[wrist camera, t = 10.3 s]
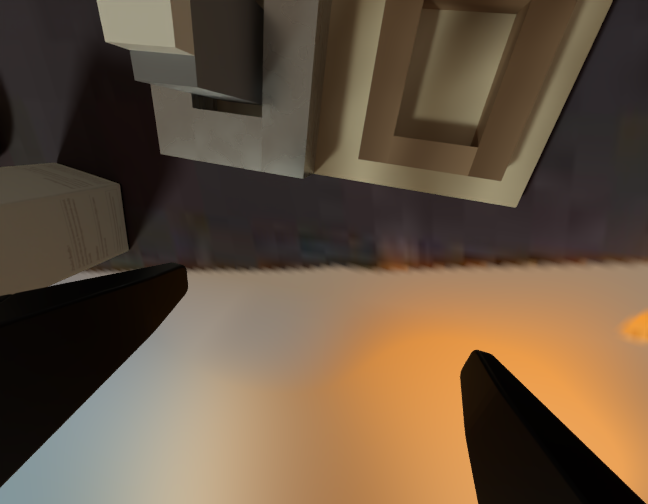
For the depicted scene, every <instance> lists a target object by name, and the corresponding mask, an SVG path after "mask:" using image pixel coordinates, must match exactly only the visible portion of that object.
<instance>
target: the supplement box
mask: <svg viewBox="0 0 648 504" xmlns="http://www.w3.org/2000/svg"><path fill="white" fill-rule="evenodd" d="M127 251H129V247H128V241H127V234H126V227H125V219H124V212H123V204H122V197H121V189H120V184H118V183H116V182H112V181H110V180H107V179H104V178H101V177H98V176H95V175H92V174H89V173H86V172H83V171H80V170H77V169H74V168H70V167H67V166H64V165H61V164H58V163H44V164H33V165H21V166H9V167H0V296H2V295H8V294H12V295H13V294H15V293H18V292H23V291H28V290H34V289H39V288H44V287H48V286H50V285H52V284H55V283H57V282H59V281H61V280H63V279H66V278H68V277H70V276H73V275H75V274H77V273H79V272H82V271H84V270H86V269H89V268H91V267H93V266H95V265H98V264H100V263H102V262H104V261H106V260H109V259H111V258H113V257H115V256H118V255H120V254H122V253H124V252H127Z"/></svg>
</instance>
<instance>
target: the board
mask: <svg viewBox="0 0 648 504" xmlns="http://www.w3.org/2000/svg"><path fill="white" fill-rule="evenodd" d="M255 1H256V2H257V3H258V4H259V5H260V6H261V7H262V8H263V9H264V0H255ZM385 1H386V0H332V5H331V15H330V24H329V34H328V44H327V53H326V63H325V72H324V82H323V92H322V101H321V111H320V120H319V130H318V139H317V149H316V159H315V168H314V174H319V175H325V176H331V177H337V178H343V179H349V180H355V181H361V182H367V183H373V184H379V185H385V186H391V187H396V188H402V189H408V190H414V191H420V192H426V193H432V194H438V195H444V196H450V197H456V198H462V199H468V200H474V201H480V202H486V203H492V204H497V205H503V206H509V207H515V208H516V207H517V204H518V202H519V200H520V198H521V196H522V194H523V192H524V189H525V187H526V185H527V183H528V181H529V179H530V177H531V174H532V172H533V170H534V168H535V166H536V164H537V162H538V159H539V157H540V155H541V153H542V151H543V149H544V147H545V145H546V142H547V140H548V138H549V136H550V134H551V132H552V130H553V127H554V125H555V123H556V121H557V119H558V117H559V115H560V112H561V110H562V108H563V106H564V104H565V102H566V100H567V97H568V95H569V93H570V91H571V89H572V87H573V85H574V82H575V80H576V78H577V76H578V74H579V72H580V70H581V68H582V65H583V63H584V61H585V59H586V57H587V55H588V53H589V50H590V48H591V46H592V44H593V42H594V40H595V38H596V35H597V33H598V31H599V29H600V27H601V25H602V23H603V20H604V18H605V16H606V14H607V12H608V10H609V8H610V6H611V3H612V1H613V0H577V3H576V5H575V8H574V10H573V12H572V15H571V17H570V19H569V22H568V24H567V26H566V29H565V31H564V34H563V36H562V38H561V41H560V43H559V45H558V48H557V50H556V53H555V55H554V57H553V60H552V62H551V64H550V67H549V69H548V72H547V74H546V76H545V79H544V81H543V83H542V86H541V88H540V90H539V93H538V95H537V98H536V100H535V102H534V105H533V107H532V109H531V112H530V114H529V117H528V119H527V121H526V124H525V126H524V128H523V131H522V133H521V136H520V138H519V140H518V143H517V145H516V147H515V150H514V152H513V154H512V157H511V159H510V162H509V164H508V166H507V169H506V171H505V173H504V176H503V178H502V181H496V180H490V179H483V178H477V177H470V176H464V175H457V174H451V173H444V172H438V171H431V170H425V169H419V168H412V167H406V166H399V165H393V164H386V163H380V162H373V161H367V160H360V159H358V157H359V151H360V145H361V139H362V134H363V128H364V122H365V116H366V110H367V105H368V99H369V93H370V87H371V82H372V76H373V70H374V64H375V59H376V53H377V47H378V41H379V36H380V30H381V24H382V18H383V13H384V7H385ZM515 17H516V14H504V13H487V12H470V11H454V10H437V9H422V11H421V15H420V20H419V24H418V28H417V33H416V37H415V42H414V46H413V51H412V55H411V60H410V64H409V69H408V73H407V78H406V82H405V87H404V91H403V96H402V100H401V105H400V109H399V114H398V118H397V123H396V127H395V132H394V136H398V137H405V138H413V139H420V140H427V141H434V142H442V143H449V144H456V145H463V146H471V143H472V140H473V137H474V134H475V131H476V128H477V126H478V123H479V120H480V117H481V114H482V111H483V108H484V106H485V103H486V100H487V97H488V94H489V91H490V88H491V86H492V83H493V80H494V77H495V74H496V71H497V68H498V65H499V63H500V60H501V57H502V54H503V51H504V48H505V45H506V43H507V40H508V37H509V34H510V31H511V28H512V25H513V22H514V20H515ZM217 111H218V112H225V113H232V114H239V115H247V116H254V117H261V118H262V105H253V104H245V103H236V102H228V101H223V100H219V99H217Z"/></svg>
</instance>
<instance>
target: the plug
mask: <svg viewBox="0 0 648 504" xmlns="http://www.w3.org/2000/svg"><path fill="white" fill-rule="evenodd" d="M97 4H98V9H99V14H100V19H101V24H102V28H103V33H104V38H105V42H108V43H111V44H114V45H116V46H119V47H122V48H125V49H128V50H130V55H131V61H132V67H133V72H134V78H135V81H139V82H144V83H148V84H153V85H157V86H162V87H166V88H170V89H175V90H179V91H184V92H188V93H192V94H197V95H201V96H206V97H210V98H214V99H219V100H223V101H228V102H236V103H245V104H253V105H262V93H263V32H264V9H263V8H262V7H261V6H260V5H259V4H258V3H257V2H256V1H255V0H97Z"/></svg>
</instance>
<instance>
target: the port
mask: <svg viewBox="0 0 648 504" xmlns="http://www.w3.org/2000/svg"><path fill="white" fill-rule="evenodd" d="M331 5H332V0H264V32H263V93H262V118H261V117H254V116H247V115H239V114H232V113H225V112H218V111H217V99H214V98H210V97H206V96H201V95H197V94H192V93H188V92H184V91H179V90H175V89H170V88H166V87H162V86H157V85H153V84H150V85H151V92H152V98H153V105H154V112H155V119H156V126H157V133H158V139H159V146H160V153H161V154H163V155H169V156H174V157H180V158H186V159H192V160H198V161H203V162H209V163H215V164H221V165H227V166H232V167H238V168H244V169H250V170H256V171H261V172H267V173H273V174H279V175H284V176H290V177H296V178H302V179H304V178H306V177H308V176H310V175H312V174H314V168H315V159H316V149H317V139H318V130H319V120H320V111H321V101H322V92H323V82H324V72H325V63H326V53H327V44H328V34H329V24H330V15H331Z"/></svg>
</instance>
